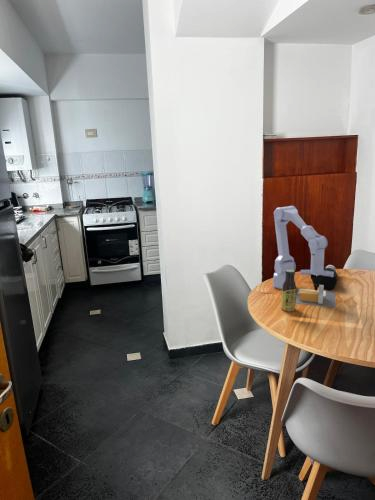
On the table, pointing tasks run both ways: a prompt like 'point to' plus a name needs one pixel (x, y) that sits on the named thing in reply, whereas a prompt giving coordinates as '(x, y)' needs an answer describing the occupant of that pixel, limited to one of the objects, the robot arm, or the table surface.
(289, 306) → the sauce bottle
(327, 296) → the board
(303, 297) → the block
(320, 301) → the clasp
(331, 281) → the black and grey cylinder
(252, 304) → the table surface
